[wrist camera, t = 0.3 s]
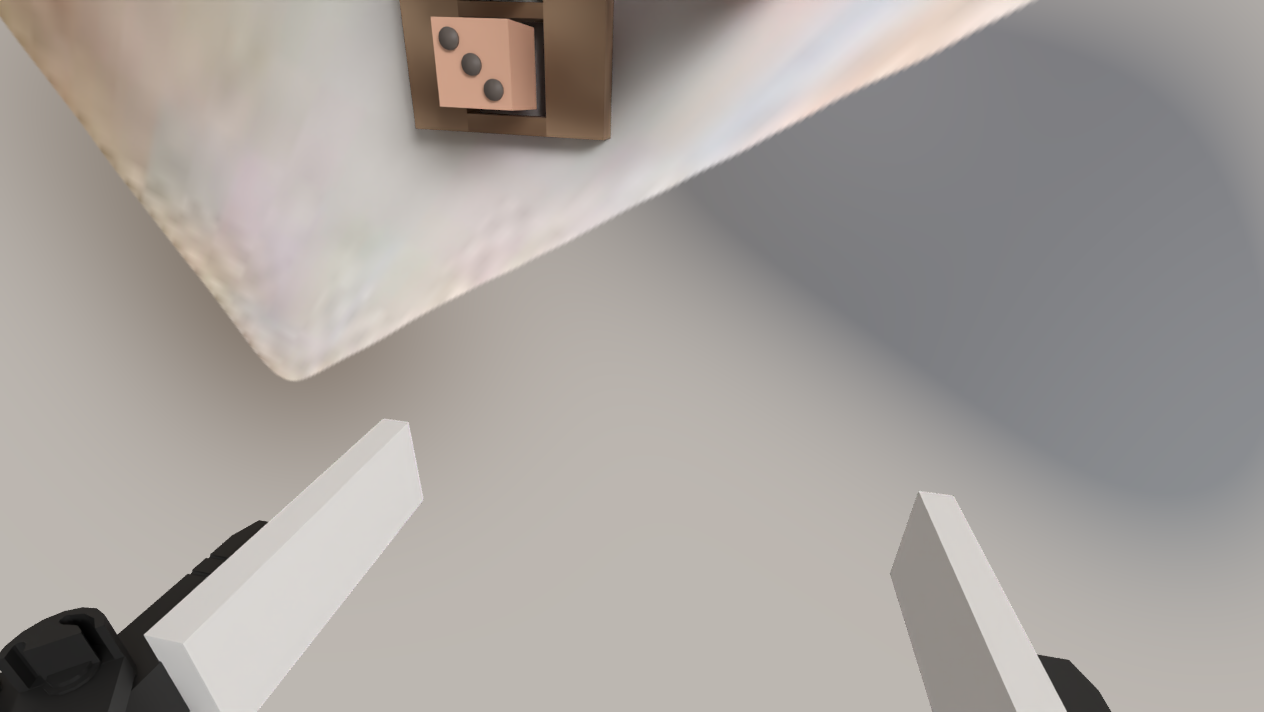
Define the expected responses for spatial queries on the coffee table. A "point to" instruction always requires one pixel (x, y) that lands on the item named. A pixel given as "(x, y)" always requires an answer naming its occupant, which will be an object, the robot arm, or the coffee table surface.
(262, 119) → the coffee table surface
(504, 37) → the tile three
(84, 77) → the coffee table surface
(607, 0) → the tile board
